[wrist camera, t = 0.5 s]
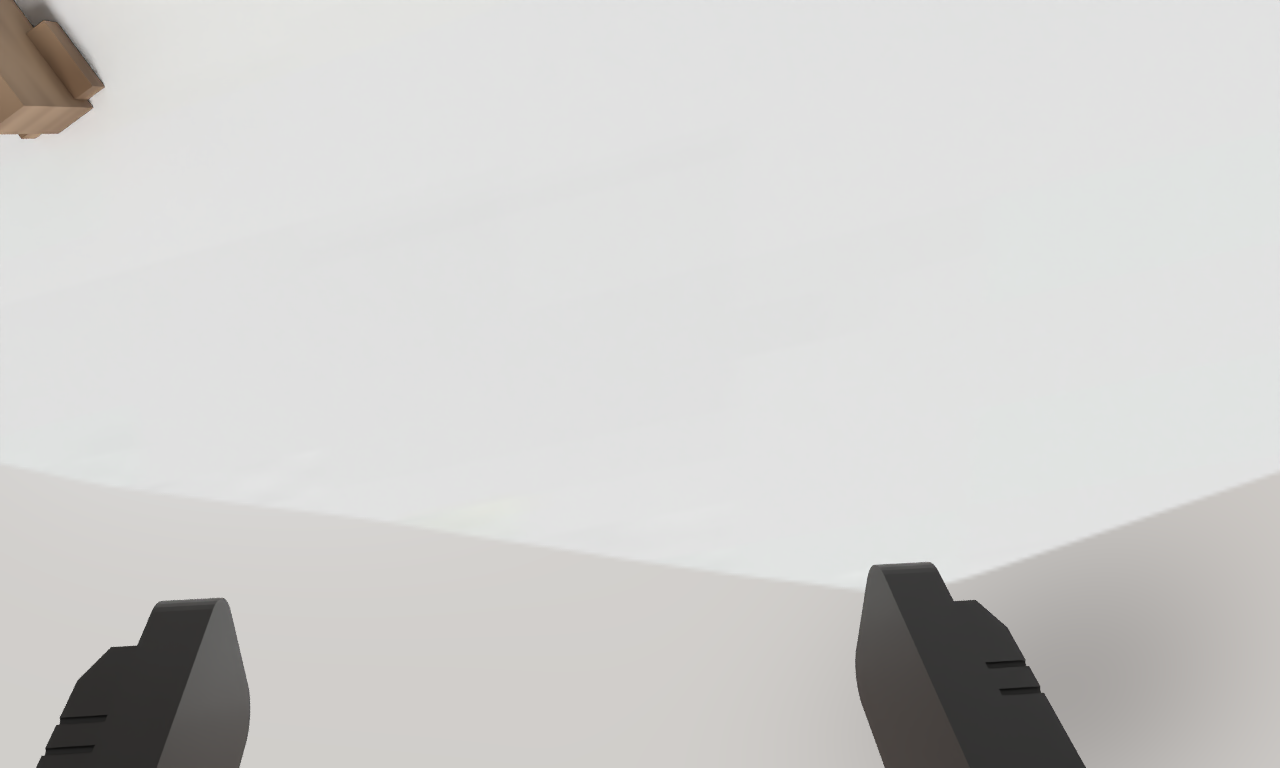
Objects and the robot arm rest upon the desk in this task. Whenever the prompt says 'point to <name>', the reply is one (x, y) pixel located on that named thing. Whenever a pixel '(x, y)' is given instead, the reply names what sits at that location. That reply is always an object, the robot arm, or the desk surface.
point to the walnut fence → (40, 76)
